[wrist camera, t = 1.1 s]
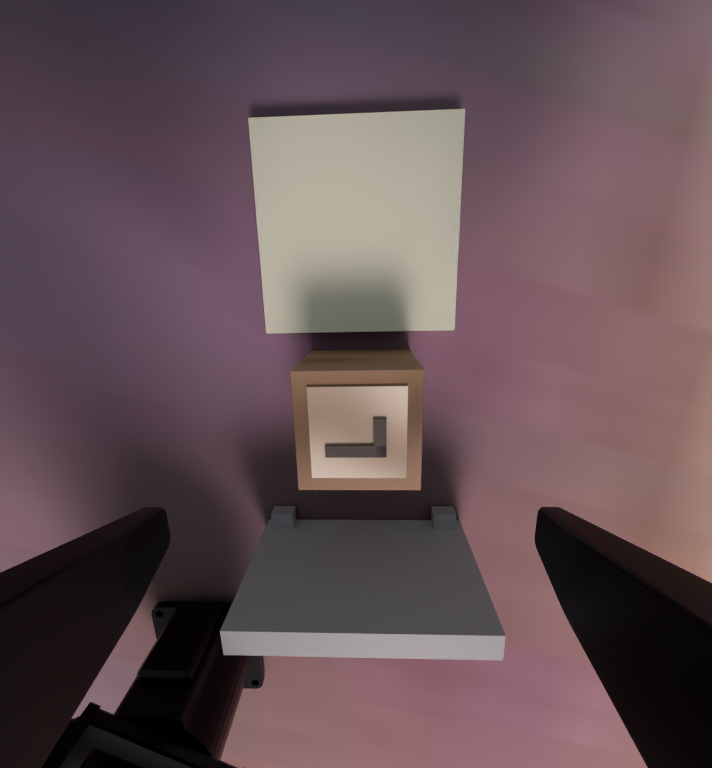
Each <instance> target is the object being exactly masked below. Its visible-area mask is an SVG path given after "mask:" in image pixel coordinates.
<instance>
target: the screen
mask: <svg viewBox="0 0 712 768" xmlns="http://www.w3.org/2000/svg"><path fill="white" fill-rule="evenodd" d="M220 635H221V642H222V649H223V655H249V656H301V657H353V658H405V659H457V660H503V655H504V646H505V637H506V636H505V633H504V631H503V628H502V626H501V623H500V621H499V618H498V616H497V613H496V611H495V608H494V606H493V603H492V601H491V598H490V596H489V593H488V591H487V588H486V586H485V583H484V581H483V578H482V576H481V573H480V571H479V568H478V566H477V563H476V561H475V558H474V556H473V553H472V551H471V548H470V546H469V543H468V541H467V538H466V536H465V533H464V531H463V528H462V526H461V523H460V521H459V520H456V513H455V510H454V508H453V506H432V510H431V520H296V509H295V506H274V508H273V511H272V513H271V519H269V521H268V523H267V525H266V528H265V530H264V532H263V534H262V537H261V539H260V541H259V543H258V546H257V548H256V550H255V553H254V555H253V557H252V559H251V562H250V564H249V566H248V568H247V571H246V573H245V575H244V578H243V580H242V582H241V584H240V587H239V589H238V591H237V593H236V596H235V598H234V600H233V603H232V605H231V607H230V609H229V612H228V614H227V616H226V618H225V621H224V623H223V625H222V628H221V630H220Z"/></svg>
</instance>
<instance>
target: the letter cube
mask: <svg viewBox="0 0 712 768" xmlns="http://www.w3.org/2000/svg"><path fill="white" fill-rule="evenodd" d="M290 373H291V387H292V402H293V416H294V431H295V445H296V460H297V474H298V489H299V490H421V466H422V432H423V397H424V369H423V367H422V366H421V364H420V363H419V362H418V360H417V359H416V357H415V356H414V355H413V353H412V352H411V350H410V349H379V350H312V351H310V352H309V353H308V354H307V355H306V356H305V357H304V358H303V359H302V360H301V361H300V362H299V363H298V364H297V365H296V366H295V367H294V368H293V369H292V370H291V371H290Z"/></svg>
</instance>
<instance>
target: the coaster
mask: <svg viewBox="0 0 712 768" xmlns="http://www.w3.org/2000/svg"><path fill="white" fill-rule="evenodd" d="M248 122H249V134H250V146H251V158H252V169H253V181H254V193H255V205H256V217H257V229H258V241H259V252H260V264H261V276H262V288H263V300H264V312H265V323H266V333H319V332H378V331H436V330H454V328H455V308H456V287H457V267H458V247H459V226H460V206H461V186H462V165H463V145H464V125H465V109H448V110H424V111H400V112H376V113H352V114H328V115H304V116H280V117H256V118H248Z"/></svg>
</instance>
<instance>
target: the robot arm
mask: <svg viewBox="0 0 712 768" xmlns="http://www.w3.org/2000/svg"><path fill="white" fill-rule="evenodd" d="M169 543H170V531H169V525H168V520H167V514H166V511H165V509H164V508H162V507H145V508H142V509H140V510H138V511H136V512H134V513H131V514H129V515H127V516H125V517H122V518H120V519H118V520H116V521H114V522H111V523H109V524H107V525H105V526H103V527H100V528H98V529H96V530H94V531H92V532H89V533H87V534H85V535H83V536H80V537H78V538H76V539H74V540H72V541H69V542H67V543H65V544H63V545H61V546H58V547H56V548H54V549H52V550H50V551H47V552H45V553H43V554H41V555H39V556H36V557H34V558H32V559H30V560H27V561H25V562H23V563H21V564H19V565H16V566H14V567H12V568H10V569H8V570H5V571H3V572H1V573H0V768H237V767H234V766H232V765H230V764H227V763H225V762H223V761H220V759H221V756H222V753H223V750H224V747H225V743H226V740H227V737H228V734H229V731H230V728H231V725H232V721H233V718H234V715H235V712H236V709H237V706H238V703H239V699H240V696H241V693H242V690H243V688H254V689H256V688H260V687H261V686H262V685H263V681H264V668H263V660H262V656H249V655H223V649H222V642H221V635H220V630H221V628H222V625H223V623H224V621H225V618H226V616H227V614H228V612H229V609H230V607H231V605H232V603H197V602H159V603H157V604H156V606H155V607H154V609H153V610H152V618H153V623H154V628H155V633H156V638H157V641H156V643H155V644H154V646H153V648H152V649H151V651H150V652H149V654H148V656H147V657H146V659H145V661H144V662H143V664H142V666H141V667H140V669H139V670H138V673H137V677H136V679H135V680H134V682H133V683H132V685H131V687H130V688H129V690H128V692H127V693H126V695H125V697H124V698H123V700H122V702H121V703H120V705H119V707H118V708H117V710H116V712H115V713H114V715H113V714H111V713H109V712H106V711H104V710H102V709H100V707H101V706H99V705H97V704H95V703H92V702H90V703H89V705H88V706H87V707H86V709H85V710H84V711H83V713H82V714H81V716H80V717H79V716H78V717H77V718H75V719H71V718H72V716H73V715H74V713H75V711H76V710H77V708H78V706H79V705H80V703H81V701H82V700H83V698H84V697H85V695H86V693H87V692H88V690H89V688H90V687H91V685H92V683H93V682H94V680H95V678H96V677H97V675H98V674H99V672H100V670H101V669H102V667H103V665H104V664H105V662H106V660H107V659H108V657H109V655H110V654H111V652H112V650H113V649H114V647H115V646H116V644H117V642H118V641H119V639H120V637H121V636H122V634H123V632H124V631H125V629H126V627H127V626H128V624H129V623H130V621H131V619H132V617H133V616H134V614H135V612H136V611H137V609H138V607H139V605H140V603H141V601H142V599H143V597H144V595H145V593H146V591H147V589H148V587H149V585H150V583H151V581H152V579H153V577H154V575H155V573H156V571H157V569H158V567H159V565H160V563H161V561H162V559H163V557H164V555H165V553H166V551H167V549H168V546H169ZM535 544H536V548H537V551H538V553H539V555H540V558H541V560H542V562H543V565H544V567H545V569H546V572H547V574H548V576H549V579H550V581H551V584H552V586H553V588H554V591H555V593H556V595H557V598H558V600H559V602H560V605H561V607H562V609H563V611H564V613H565V615H566V617H567V619H568V621H569V623H570V625H571V627H572V629H573V631H574V633H575V634H576V636H577V638H578V640H579V642H580V644H581V645H582V647H583V649H584V651H585V653H586V655H587V656H588V658H589V660H590V662H591V664H592V666H593V668H594V669H595V671H596V673H597V675H598V677H599V679H600V680H601V682H602V684H603V686H604V688H605V690H606V692H607V693H608V695H609V697H610V699H611V701H612V703H613V704H614V706H615V708H616V710H617V712H618V714H619V716H620V717H621V719H622V721H623V723H624V725H625V727H626V728H627V730H628V732H629V734H630V736H631V738H632V740H633V741H634V743H635V745H636V747H637V749H638V751H639V752H640V754H641V756H642V758H643V760H644V762H645V764H646V765H647V767H648V768H712V583H710V582H708V581H706V580H704V579H702V578H700V577H698V576H696V575H694V574H692V573H690V572H688V571H686V570H684V569H682V568H680V567H678V566H676V565H674V564H672V563H670V562H668V561H666V560H664V559H662V558H660V557H658V556H656V555H654V554H652V553H650V552H648V551H646V550H644V549H642V548H640V547H638V546H636V545H634V544H632V543H630V542H628V541H626V540H624V539H622V538H620V537H618V536H616V535H614V534H612V533H610V532H608V531H606V530H604V529H602V528H600V527H598V526H596V525H594V524H592V523H590V522H588V521H586V520H584V519H582V518H580V517H578V516H576V515H574V514H572V513H569V512H567V511H565V510H563V509H561V508H559V507H541V508H540V509H539V511H538V514H537V523H536V531H535ZM243 768H244V767H243Z"/></svg>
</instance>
